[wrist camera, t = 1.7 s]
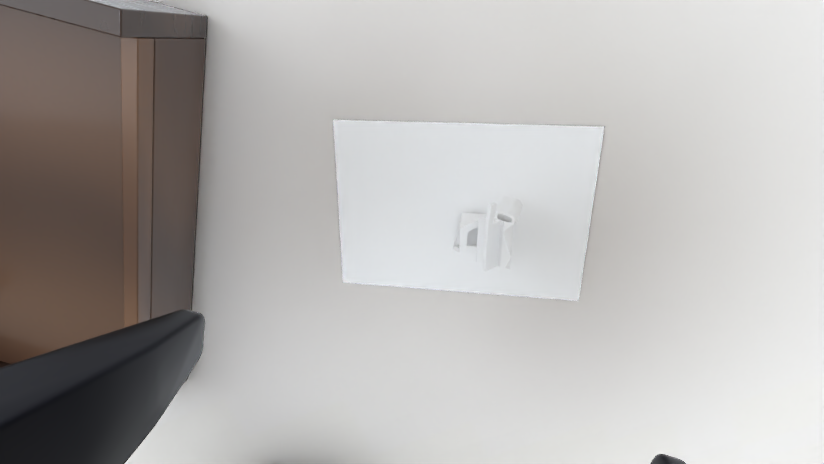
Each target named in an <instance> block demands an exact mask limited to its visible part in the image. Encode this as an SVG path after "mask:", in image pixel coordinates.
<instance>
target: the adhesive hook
mask: <svg viewBox="0 0 824 464" xmlns="http://www.w3.org/2000/svg"><path fill="white" fill-rule="evenodd" d="M497 204H498V203H497V202H494V201H493V202H490V203H488V204H487V210H486V213H477V212H462V213H461V215H460V219H459V223H458V227H457V230H456V234H455V238H454V242H453V246H452V249H453V250H454V251H456V252H457V253H459V254H473V255H475V262H476V263H480V264H482V266H481V270H482V271H483V272H485V273H486V272H488V271H490V270H492V269H494V268H496V269H499V275H498V278H499V279H500V278H501V276H502V274H503V272H504V271H505V269H507V270H510V269H511V263H512V252H513V240H514V231H515V228H516V226H517V224H518V222H519V220H520V216H521V213H522V210H523V206H524V205H523V203H522V202H521V200H520V199H518V198H515V197H511V196H506V195H504V196H503V198H502V199H501V201H500V203H499V205H498V207H497Z"/></svg>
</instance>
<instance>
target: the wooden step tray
mask: <svg viewBox="0 0 824 464" xmlns="http://www.w3.org/2000/svg"><path fill="white" fill-rule="evenodd" d="M206 29H207V16H205V15H202V14H198V13H194V12H190V11H186V10H183V9H179V8H175V7H171V6H167V5H164V4H160V3H156V2H152V1H148V0H0V368H1V367H4V366H7V365H10V364H13V363H16V362H19V361H23V360H26V359H29V358H32V357H35V356H38V355H41V354H44V353H48V352H51V351H54V350H57V349H60V348H63V347H66V346H69V345H72V344H75V343H79V342H82V341H85V340H88V339H91V338H94V337H97V336H100V335H103V334H107V333H110V332H113V331H116V330H119V329H122V328H125V327H128V326H131V325H134V324H138V323H141V322H144V321H147V320H150V319H153V318H156V317H159V316H162V315H166V314H169V313H172V312H175V311H178V310H182V309H186V310H190V311H191V305H192V286H193V268H194V249H195V231H196V212H197V194H198V175H199V157H200V138H201V120H202V101H203V83H204V64H205V46H206V39H204V38H206ZM186 380H187V378H186ZM186 380H185V381H186ZM185 381H184V382H185ZM183 384H184V383H183ZM183 384H182V385H183Z"/></svg>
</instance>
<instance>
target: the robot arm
mask: <svg viewBox="0 0 824 464" xmlns="http://www.w3.org/2000/svg"><path fill="white" fill-rule="evenodd" d="M204 325H205V319H204V316H203V315H202V314H200V313H196V312H193V311H190V310H186V309H182V310H178V311H175V312H172V313H169V314H166V315H162V316H159V317H156V318H153V319H150V320H147V321H144V322H141V323H138V324H134V325H131V326H128V327H125V328H122V329H119V330H116V331H113V332H110V333H107V334H103V335H100V336H97V337H94V338H91V339H88V340H85V341H82V342H79V343H75V344H72V345H69V346H66V347H63V348H60V349H57V350H54V351H51V352H48V353H44V354H41V355H38V356H35V357H32V358H29V359H26V360H23V361H19V362H16V363H13V364H10V365H7V366H4V367H1V368H0V464H124V463H125V462H126V461H127V460H128V459H129V457H130V456H131V455H132V454H133V452H134V451H135V450H136V449H137V447H138V446H139V445H140V444H141V443H142V441H143V440H144V439H145V438H146V436H147V435H148V434H149V433H150V431H151V430H152V429H153V427H154V426H155V425H156V423H157V422H158V420H159V419H160V418H161V416H162V415H163V413H164V412H165V410H166V409H167V407H168V406H169V404H170V402H171V401H172V399H173V398H174V396H175V395H176V393H177V392H178V390H179V389H180V387H181V386H182V384H183V383H184V381H185V380H186V378H187V377H188V375H189V374H190V372H191V370H192V369H193V367H194V366H195V364H196V363H197V361H198V360H199V358H200V356H201V353H202V350H203V340H204ZM651 464H686V463H685V462H684V461H682V460H680V459H678V458H675V457H671V456H668V455H665V454H658V455H657V456H655V458H654V459H653V461H652V462H651Z"/></svg>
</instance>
